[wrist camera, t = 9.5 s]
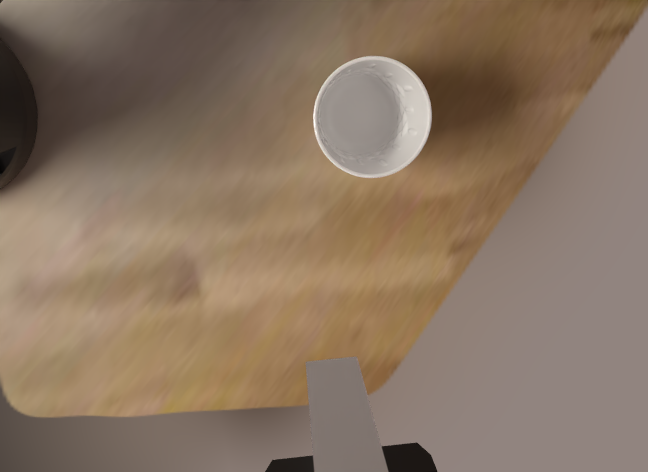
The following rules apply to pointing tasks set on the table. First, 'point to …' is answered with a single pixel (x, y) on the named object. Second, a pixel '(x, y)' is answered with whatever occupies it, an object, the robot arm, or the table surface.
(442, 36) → the table surface
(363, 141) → the white cup
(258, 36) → the table surface
